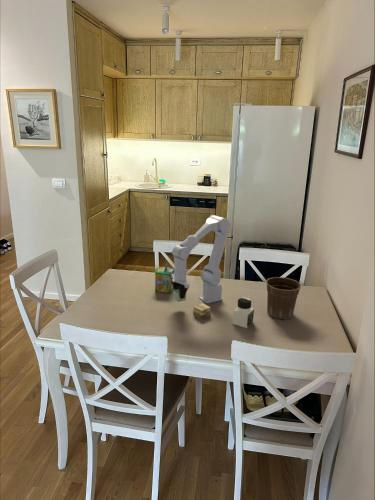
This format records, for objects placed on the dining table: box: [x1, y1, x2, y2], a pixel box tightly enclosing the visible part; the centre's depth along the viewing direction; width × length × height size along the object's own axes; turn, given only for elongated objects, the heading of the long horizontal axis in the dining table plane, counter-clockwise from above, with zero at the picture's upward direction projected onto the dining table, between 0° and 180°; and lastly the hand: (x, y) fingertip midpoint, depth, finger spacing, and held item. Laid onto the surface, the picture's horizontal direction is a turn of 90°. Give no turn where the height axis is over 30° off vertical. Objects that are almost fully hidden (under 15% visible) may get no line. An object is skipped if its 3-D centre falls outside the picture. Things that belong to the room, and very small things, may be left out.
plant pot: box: [265, 276, 302, 320], centre depth 175 cm, size 16×16×16 cm
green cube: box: [172, 289, 187, 303], centre depth 178 cm, size 4×4×4 cm
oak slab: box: [193, 302, 211, 315], centre depth 173 cm, size 6×6×2 cm
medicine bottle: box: [232, 297, 255, 329], centre depth 166 cm, size 7×7×12 cm
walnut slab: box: [192, 309, 212, 320], centre depth 174 cm, size 6×6×2 cm
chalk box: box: [154, 263, 174, 294], centre depth 199 cm, size 9×9×15 cm
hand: (179, 296), depth 178 cm, fingers closed on green cube, 4 cm apart
